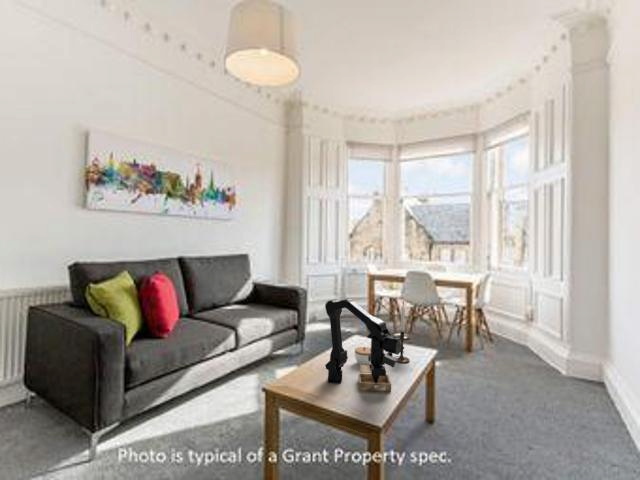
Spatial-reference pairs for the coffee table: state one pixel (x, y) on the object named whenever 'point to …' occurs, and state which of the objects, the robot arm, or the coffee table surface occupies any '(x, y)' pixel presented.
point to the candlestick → (402, 338)
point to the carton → (374, 387)
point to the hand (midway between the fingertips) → (375, 382)
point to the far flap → (365, 368)
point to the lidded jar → (362, 355)
